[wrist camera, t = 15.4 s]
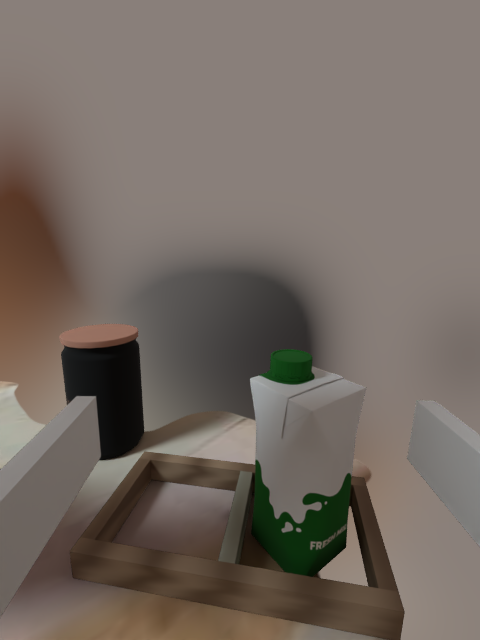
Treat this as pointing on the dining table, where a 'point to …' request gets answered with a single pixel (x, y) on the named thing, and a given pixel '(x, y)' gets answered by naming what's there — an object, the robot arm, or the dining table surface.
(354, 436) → the fresh milk carton
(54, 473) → the robot arm
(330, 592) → the walnut slot rack
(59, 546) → the dining table surface
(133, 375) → the coffee jar
